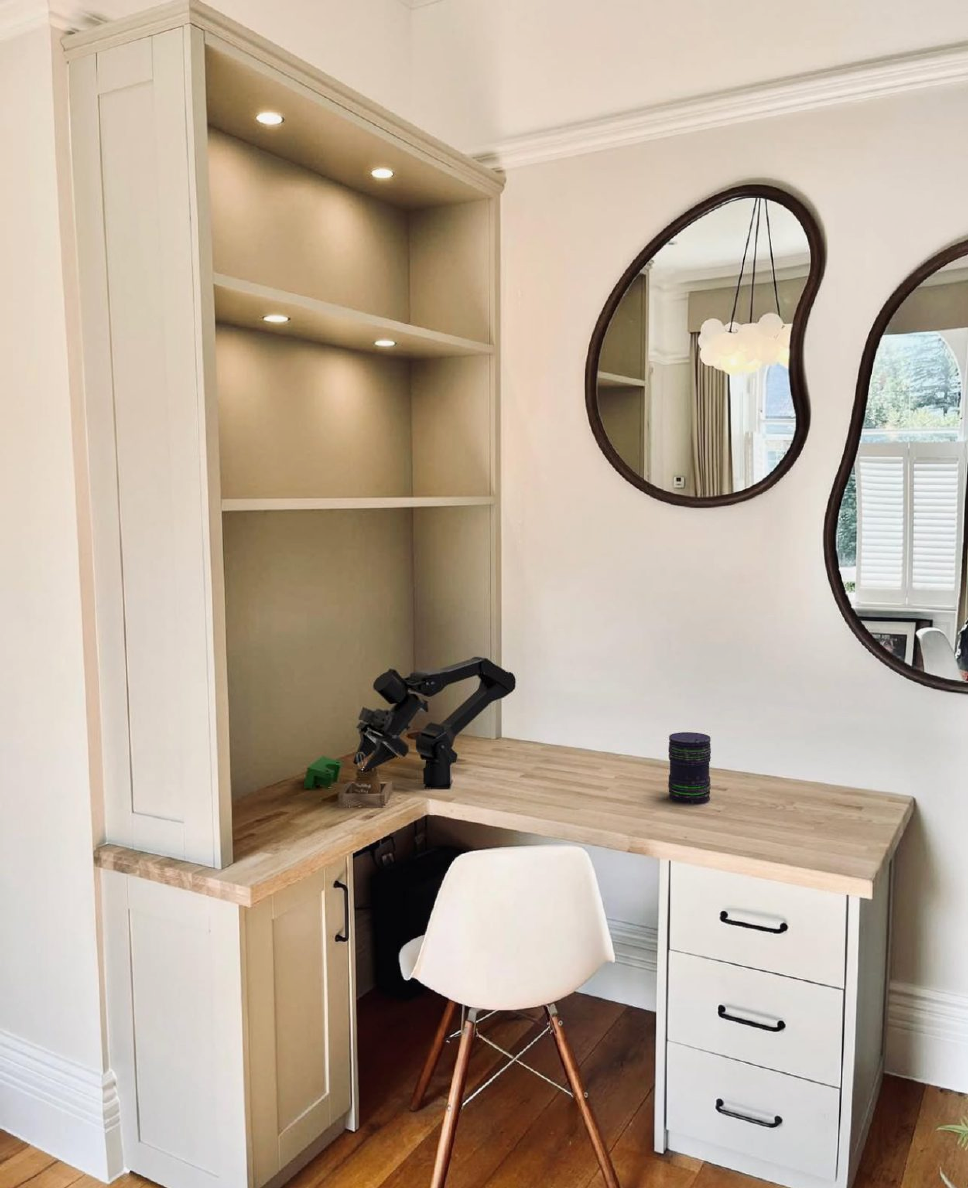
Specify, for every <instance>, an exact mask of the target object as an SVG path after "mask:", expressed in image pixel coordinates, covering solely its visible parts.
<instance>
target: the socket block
mask: <svg viewBox="0 0 968 1188" xmlns="http://www.w3.org/2000/svg"><path fill="white" fill-rule="evenodd" d="M380 787H381V794H356V787H355V781H347V782H346V783H345V784H344V786H343V787H342V788H341V790H340V792H339V793H338V795H337V800H338V801H337V802H338V808H351V807H359V806H361V807H383V806H386V807H387V805H388V803H389V801H390V800H391V798H390V796H391V795H393V781H380ZM391 797H392V796H391ZM388 800H389V801H388ZM386 804H387V805H386ZM349 806H350V807H349Z"/></svg>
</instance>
